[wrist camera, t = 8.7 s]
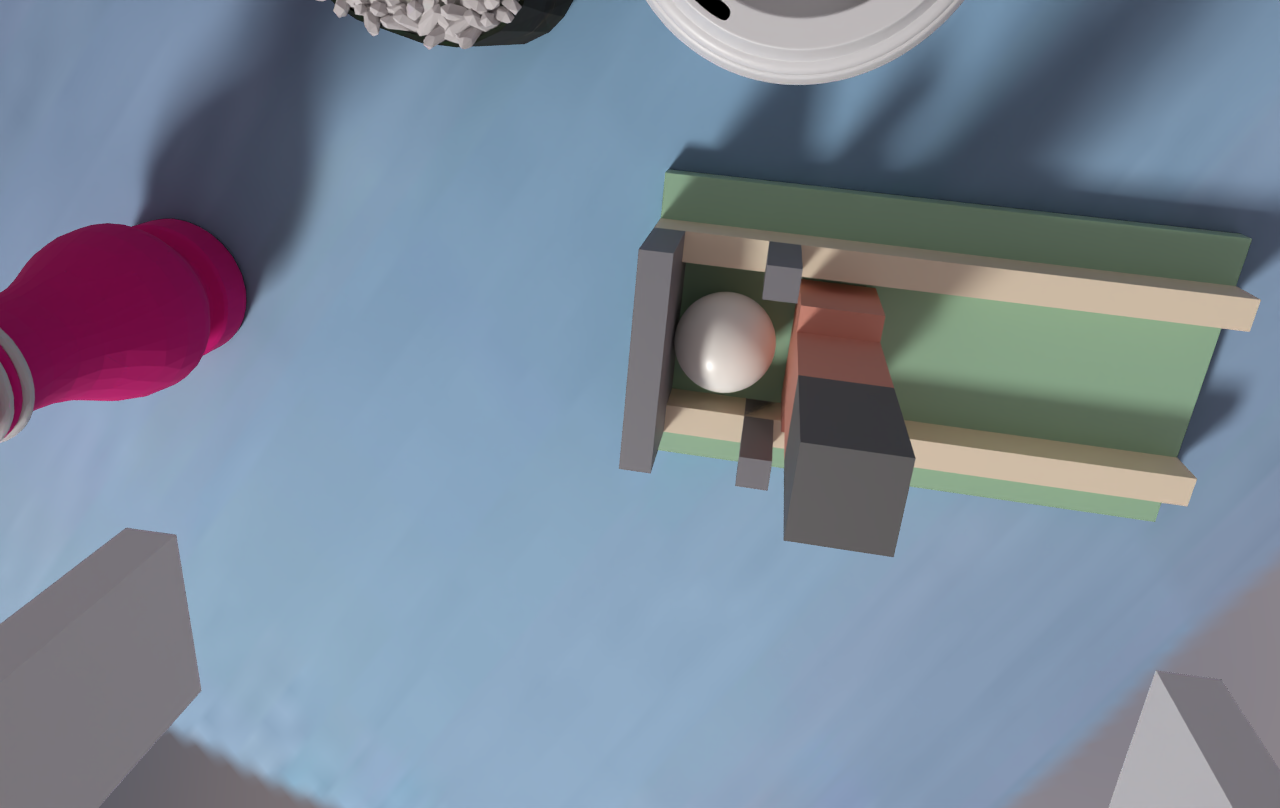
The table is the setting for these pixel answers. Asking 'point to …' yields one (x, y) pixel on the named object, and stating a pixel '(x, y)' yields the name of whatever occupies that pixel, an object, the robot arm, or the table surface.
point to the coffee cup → (802, 34)
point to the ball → (725, 342)
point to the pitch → (950, 335)
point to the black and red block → (842, 425)
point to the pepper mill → (114, 315)
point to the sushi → (458, 19)
